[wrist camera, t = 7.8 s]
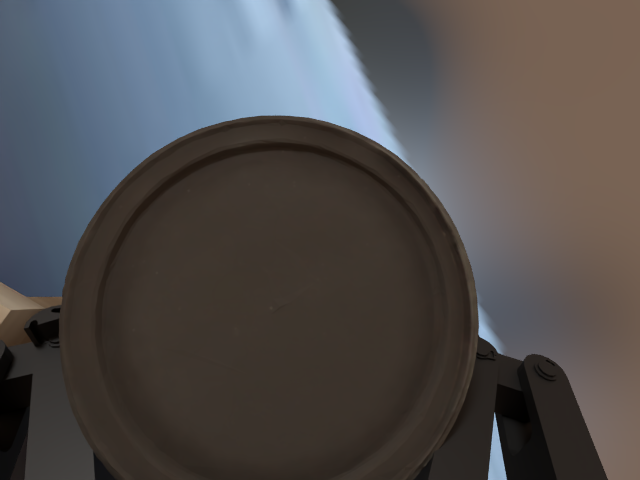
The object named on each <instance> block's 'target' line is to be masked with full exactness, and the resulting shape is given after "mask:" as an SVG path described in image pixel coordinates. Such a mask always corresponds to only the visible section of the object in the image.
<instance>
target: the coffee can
mask: <svg viewBox="0 0 640 480" xmlns="http://www.w3.org/2000/svg"><path fill="white" fill-rule="evenodd" d="M478 329H479V320H478V307H477V294H476V289H475V282H474V277H473V272H472V268H471V265H470V262H469V259H468V256H467V253H466V250H465V248H464V244H463V242H462V240H461V238H460V235H459V233H458V231H457V229H456V227H455V225H454V223H453V221H452V219H451V217H450V216H449V214H448V213H447V211H446V209H445V208H444V206H443V205H442V203H441V202H440V200H439V199H438V197H437V196H436V195H435V194H434V193H433V191H432V190H431V189H430V188H429V186H428V185H427V184H426V183H425V181H424V180H423V179H421V178H420V177H419V175H418V174H417V173H416V172H415V171H414V170H413V169H412V168H411V167H410V166H408V165H407V164H406V163H405V162H404V161H403V160H401V159H400V158H399V157H398V156H397V155H395V154H394V153H392V152H391V151H389V150H388V149H386V148H384V147H383V146H382V145H380V144H378V143H377V142H375V141H373V140H371V139H369V138H367V137H365V136H363V135H361V134H359V133H357V132H355V131H352V130H350V129H347V128H344V127H341V126H338V125H335V124H332V123H329V122H325V121H321V120H316V119H312V118H305V117H294V116H256V117H247V118H240V119H236V120H232V121H226V122H222V123H218V124H215V125H211V126H208V127H205V128H201V129H198V130H196V131H194V132H192V133H189V134H187V135H185V136H183V137H180V138H178V139H176V140H175V141H173V142H171V143H170V144H168V145H166V146H164V147H163V148H161V149H159V150H158V151H156V152H155V153H153V154H152V155H150V156H149V157H148V158H146V159H145V160H144V161H143V162H142V163H140V164H139V165H138V166H137V167H136V168H134V169H133V170H132V171H131V172H130V173H129V174H128V175H127V176H126V177H125V178H124V179H123V180H122V181H121V182H120V183H119V184H118V186H117V187H116V188H115V189H114V190H113V191H112V192H111V193H110V195H109V196H108V197H107V198H106V200H105V201H104V202H103V204H102V205H101V206H100V208H99V209H98V211H97V212H96V214H95V215H94V217H93V218H92V220H91V221H90V223H89V224H88V226H87V228H86V230H85V232H84V234H83V235H82V237H81V239H80V241H79V242H78V245H77V248H76V250H75V253H74V255H73V258H72V260H71V263H70V265H69V269H68V272H67V275H66V279H65V285H64V288H63V291H62V303H61V310H60V318H59V343H60V358H61V365H62V373H63V380H64V383H65V388H66V393H67V396H68V400H69V403H70V406H71V409H72V412H73V415H74V416H75V418H76V420H77V423H78V425H79V427H80V430H81V432H82V434H83V436H84V437H85V439H86V441H87V442H88V444H89V445H90V447H91V449H92V450H93V452H94V453H95V455H96V457H97V458H98V459H99V460H100V461H101V462H102V463H103V465H104V466H105V468H106V469H107V470H108V472H109V473H110V474H111V475H112V476H113V477H114V478H115V479H116V480H414V479H415V478H416V476H417V475H418V474H419V473H420V472H421V471H422V469H423V468H424V467H425V466H426V465H427V464H428V462H429V461H430V460H431V459H432V457H433V454H434V452H435V451H436V450H438V449H439V448H440V447H441V446H442V444H443V443H444V441H445V439H446V437H447V436H448V434H449V432H450V430H451V428H452V427H453V425H454V423H455V421H456V419H457V416H458V414H459V412H460V410H461V408H462V405H463V403H464V400H465V397H466V394H467V391H468V388H469V384H470V381H471V378H472V374H473V369H474V364H475V359H476V352H477V342H478Z"/></svg>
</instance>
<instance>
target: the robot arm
mask: <svg viewBox="0 0 640 480" xmlns="http://www.w3.org/2000/svg"><path fill="white" fill-rule="evenodd" d="M60 310H61V305H57V306H51V307H49V308H46V309H43V310H41V311H39V312H38V313H36V314H35V315H33V316H32V317H31V318H30V319H29V320H28V321H27V322H26V324H25V326H24V330H25V332H26V333H27V335H28V337H29V338H30V340H31V341H32V342H29V343H24V344H20V345H15V346H10V347H7V346H6V344H5V343H4V342H3V340H0V480H9V479H10V477H11V474H12V471H13V468H14V466H15V463H16V460H17V458H18V455H19V452H20V450H21V447H22V444H23V441H24V439H25V436H26V433H27V431H28V441H27V454H26V466H25V479H24V480H116V479H115V478H114V477H113V476H112V475H111V474H110V473H109V472H108V470H107V469H106V468H105V466H104V465H103V463H102V462H101V461H100V460H99V459H98V458H97V457H96V455H95V453H94V452H93V450H92V449H91V447H90V445H89V444H88V442H87V441H86V439H85V437H84V436H83V434H82V432H81V430H80V427H79V425H78V423H77V420H76V418H75V416H74V415H73V412H72V409H71V406H70V403H69V400H68V396H67V393H66V388H65V383H64V380H63V373H62V365H61V358H60V343H59V318H60ZM494 412H495V415H496V421H497V426H498V432H499V437H500V443H501V449H502V454H503V460H504V466H505V471H506V477H507V480H608V479H607V477H606V474H605V471H604V469H603V466H602V464H601V461H600V459H599V456H598V454H597V451H596V449H595V446H594V444H593V441H592V438H591V436H590V433H589V431H588V428H587V426H586V423H585V421H584V419H583V416H582V413H581V411H580V408H579V406H578V403H577V401H576V398H575V396H574V393H573V391H572V388H571V386H570V383H569V380H568V378H567V376H566V374H565V373H564V371H563V369H562V368H561V367H560V366H558V365H557V364H556V363H555V362H554V361H552V360H550V359H549V358H546V357H544V356H541V355H537V354H532V355H528V356H527V357H526V358H525V359H524V361H520V360H517V359H514V358H511V357H507V356H504V355H501V354H499V353H498V352H497V351H496V349H495V348H494V347H493V346H492V345H491V344H490V343H489V342H488V341H486V340H484V339H482V338H480V337H479V335H478V342H477V352H476V359H475V364H474V369H473V374H472V378H471V381H470V384H469V388H468V391H467V394H466V397H465V400H464V403H463V405H462V408H461V410H460V412H459V414H458V416H457V419H456V421H455V423H454V425H453V427H452V428H451V430H450V432H449V434H448V436H447V437H446V439H445V441H444V443H443V444H442V446H441V447H440V448H439V449H438V450H436V451H435V452H434V454H433V457H432V459H431V460H430V461H429V462H428V464H427V465H426V466H425V467H424V468H423V469H422V471H421V472H420V473H419V474H418V475H417V476H416V478H415V479H414V480H488V471H489V461H490V451H491V441H492V431H493V421H494Z"/></svg>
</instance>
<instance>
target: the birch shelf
mask: <svg viewBox="0 0 640 480" xmlns="http://www.w3.org/2000/svg"><path fill="white" fill-rule="evenodd" d="M61 303H62V297H25V296H23V295H22V294H20V293H18V292H17V291H15V290H13V289H11V288H10V287H8V286H6V285H4V284H3V283H1V282H0V340H3V342H4V343H5V344H6V346H7V347H10V346H15V345H20V344H24V343H29V342H32V341H31V340H30V338H29V337H28V335H27V333H26V332H25V330H24V326H25V324H26V322H27V321H28V320H29V319H30V318H31V317H32V316H33V315H35V314H36V313H38V312H39V311H41V310H43V309H46V308H49V307H51V306H57V305H61Z"/></svg>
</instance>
